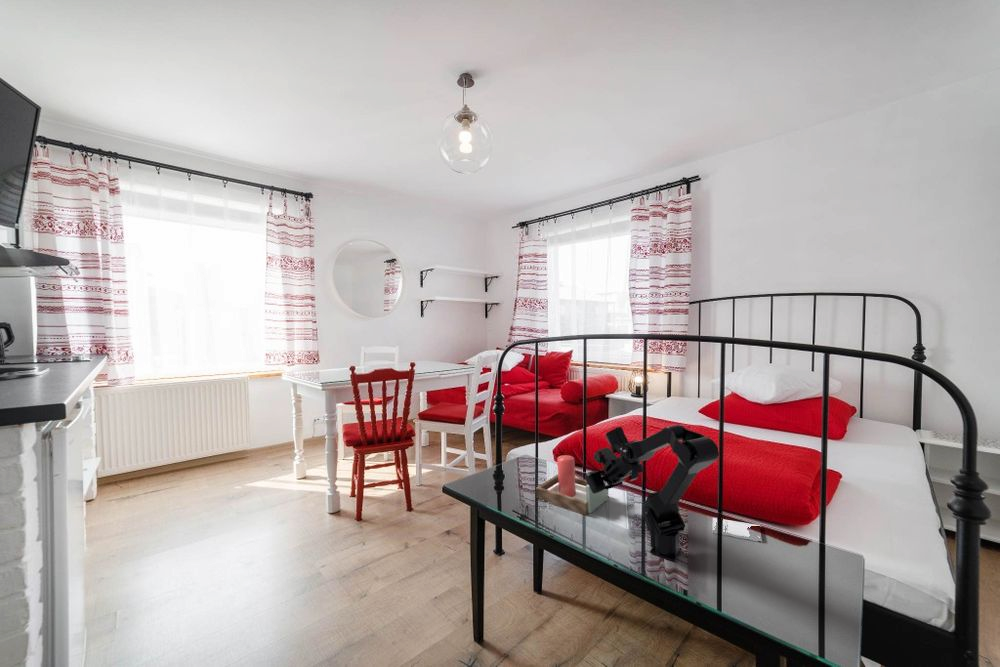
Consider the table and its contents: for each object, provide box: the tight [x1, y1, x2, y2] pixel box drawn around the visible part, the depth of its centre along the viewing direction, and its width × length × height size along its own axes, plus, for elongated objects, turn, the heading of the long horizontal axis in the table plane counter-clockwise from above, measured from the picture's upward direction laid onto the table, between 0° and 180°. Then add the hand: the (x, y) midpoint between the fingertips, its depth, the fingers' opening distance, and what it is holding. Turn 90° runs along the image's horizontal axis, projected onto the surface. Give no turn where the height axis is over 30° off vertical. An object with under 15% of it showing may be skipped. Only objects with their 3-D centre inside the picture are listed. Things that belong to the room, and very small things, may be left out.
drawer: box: [535, 474, 589, 516], centre depth 147 cm, size 20×16×4 cm
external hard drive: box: [712, 517, 761, 538], centre depth 122 cm, size 2×8×12 cm
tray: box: [547, 483, 609, 514], centre depth 146 cm, size 18×12×9 cm
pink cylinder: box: [556, 454, 576, 497], centre depth 148 cm, size 6×6×13 cm
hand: (600, 486), depth 140 cm, fingers closed
